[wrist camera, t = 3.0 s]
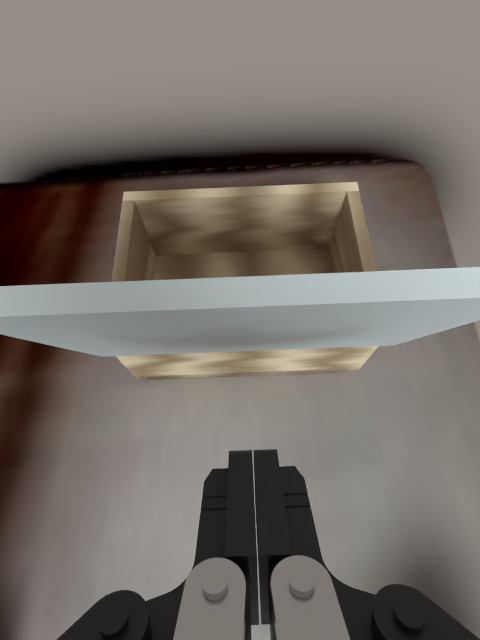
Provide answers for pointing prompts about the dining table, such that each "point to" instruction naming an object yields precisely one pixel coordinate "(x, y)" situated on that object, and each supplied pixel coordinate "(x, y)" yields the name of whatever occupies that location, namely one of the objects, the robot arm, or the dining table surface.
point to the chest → (243, 260)
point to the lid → (242, 311)
